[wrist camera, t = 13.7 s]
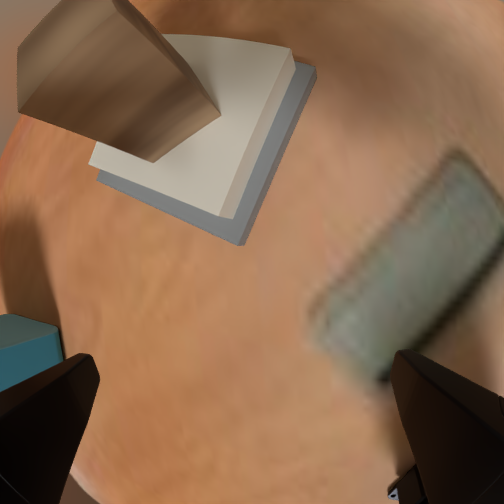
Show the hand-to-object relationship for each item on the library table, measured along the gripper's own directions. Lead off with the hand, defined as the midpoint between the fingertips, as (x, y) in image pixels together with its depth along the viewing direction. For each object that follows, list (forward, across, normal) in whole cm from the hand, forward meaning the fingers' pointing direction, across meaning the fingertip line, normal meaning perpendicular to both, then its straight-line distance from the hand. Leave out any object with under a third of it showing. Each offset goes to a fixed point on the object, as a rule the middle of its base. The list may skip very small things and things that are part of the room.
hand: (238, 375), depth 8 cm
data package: (+16, +25, +11) cm, 31 cm away
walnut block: (+12, +4, -9) cm, 16 cm away
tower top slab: (+14, +4, -9) cm, 17 cm away
